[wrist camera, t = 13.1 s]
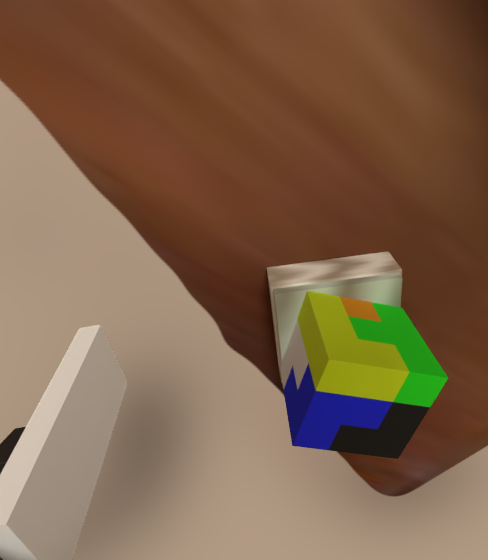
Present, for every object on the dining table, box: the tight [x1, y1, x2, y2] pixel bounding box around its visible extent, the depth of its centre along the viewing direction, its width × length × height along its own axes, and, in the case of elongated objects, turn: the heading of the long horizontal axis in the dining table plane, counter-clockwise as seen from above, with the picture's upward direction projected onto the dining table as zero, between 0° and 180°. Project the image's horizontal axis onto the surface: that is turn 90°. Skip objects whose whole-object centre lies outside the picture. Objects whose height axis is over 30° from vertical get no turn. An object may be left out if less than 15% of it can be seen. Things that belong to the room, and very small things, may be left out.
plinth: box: [267, 252, 402, 383], centre depth 45 cm, size 13×13×5 cm
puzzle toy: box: [280, 291, 448, 459], centre depth 39 cm, size 10×10×10 cm
